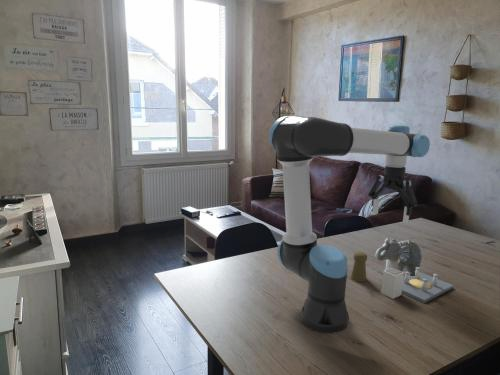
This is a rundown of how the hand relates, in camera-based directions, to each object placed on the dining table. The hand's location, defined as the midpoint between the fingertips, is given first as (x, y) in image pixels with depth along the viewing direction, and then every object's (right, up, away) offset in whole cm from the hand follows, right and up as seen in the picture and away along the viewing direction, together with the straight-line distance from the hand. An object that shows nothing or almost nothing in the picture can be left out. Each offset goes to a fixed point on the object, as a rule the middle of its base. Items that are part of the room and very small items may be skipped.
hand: (389, 218), depth 148 cm
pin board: (+10, -26, -5) cm, 28 cm away
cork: (-12, -24, +1) cm, 27 cm away
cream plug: (-3, -27, -10) cm, 29 cm away
